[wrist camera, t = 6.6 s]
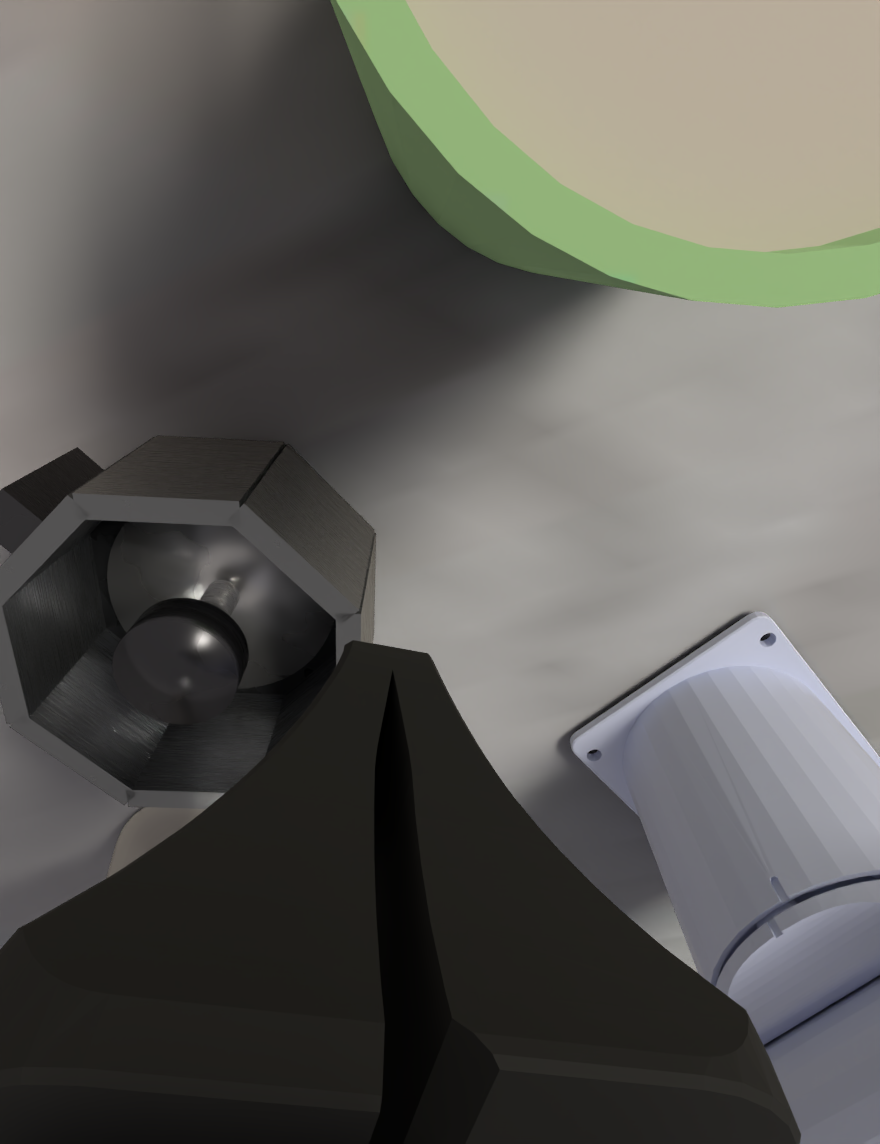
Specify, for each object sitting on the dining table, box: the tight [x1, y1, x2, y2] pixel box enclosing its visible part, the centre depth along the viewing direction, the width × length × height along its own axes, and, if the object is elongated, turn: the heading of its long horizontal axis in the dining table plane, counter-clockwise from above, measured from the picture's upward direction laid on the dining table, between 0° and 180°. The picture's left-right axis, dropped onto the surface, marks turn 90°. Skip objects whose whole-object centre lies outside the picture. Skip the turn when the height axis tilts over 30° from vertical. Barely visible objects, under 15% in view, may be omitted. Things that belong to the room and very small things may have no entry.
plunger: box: [107, 521, 334, 725], centre depth 19 cm, size 7×7×5 cm
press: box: [0, 436, 376, 809], centre depth 19 cm, size 10×9×5 cm
